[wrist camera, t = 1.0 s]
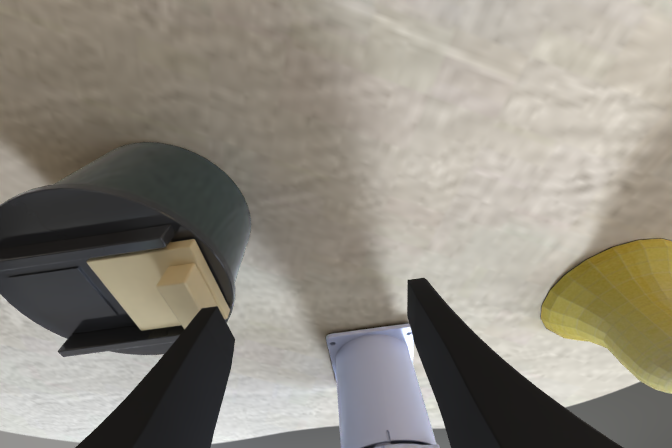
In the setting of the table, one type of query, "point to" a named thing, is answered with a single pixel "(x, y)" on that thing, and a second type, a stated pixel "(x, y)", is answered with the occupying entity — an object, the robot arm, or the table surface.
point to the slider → (161, 284)
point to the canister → (116, 241)
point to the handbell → (621, 307)
